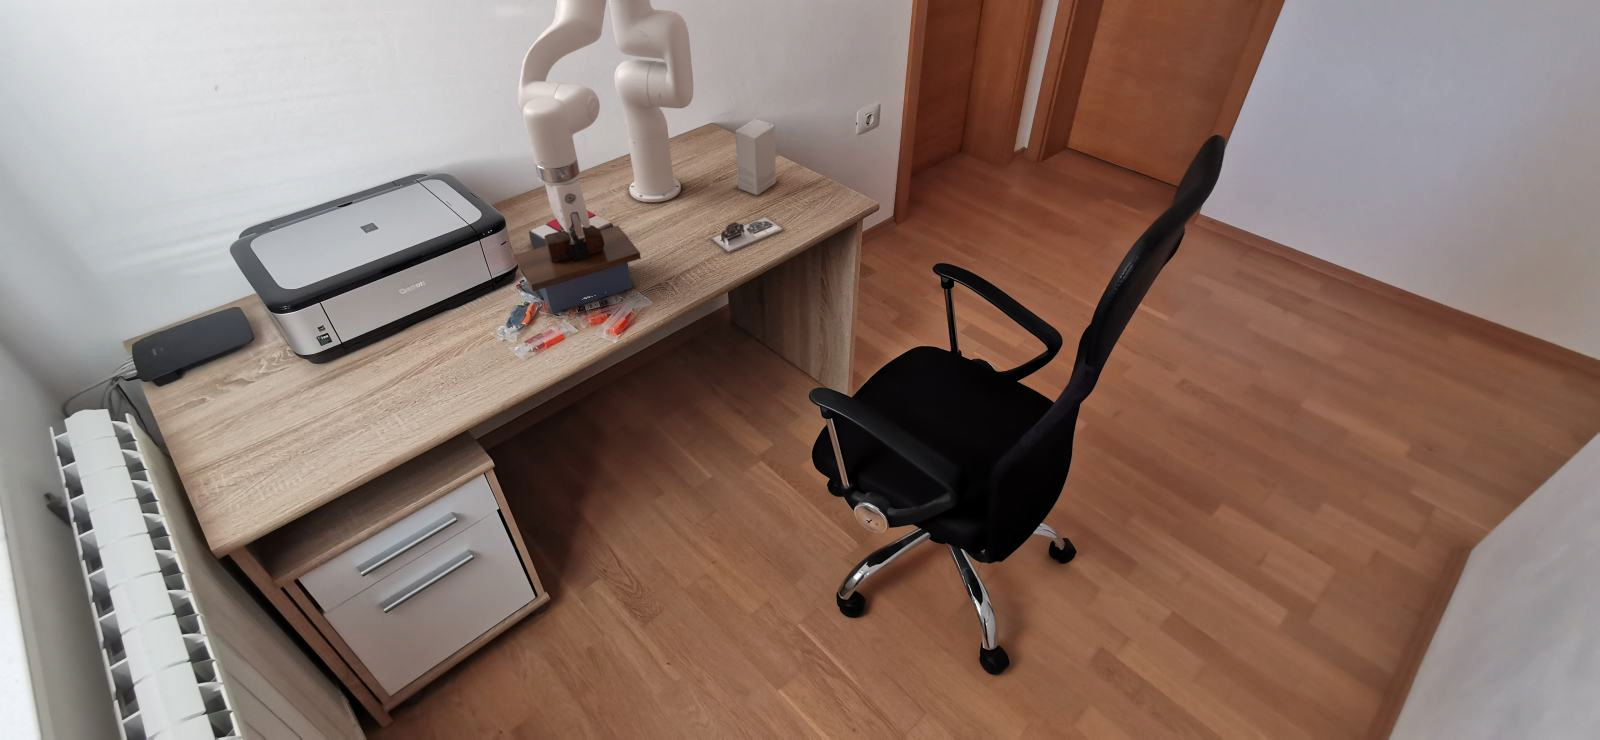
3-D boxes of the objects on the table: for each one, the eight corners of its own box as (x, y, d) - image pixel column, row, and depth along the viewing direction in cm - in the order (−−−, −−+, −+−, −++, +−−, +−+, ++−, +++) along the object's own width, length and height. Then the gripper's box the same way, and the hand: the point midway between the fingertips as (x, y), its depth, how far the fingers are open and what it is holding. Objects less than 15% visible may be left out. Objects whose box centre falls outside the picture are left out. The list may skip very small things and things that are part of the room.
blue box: (537, 288, 155) (529, 260, 150) (615, 264, 161) (609, 237, 157) (552, 313, 149) (544, 284, 144) (632, 288, 155) (627, 259, 150)
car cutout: (729, 252, 165) (728, 234, 162) (712, 239, 169) (711, 222, 166) (782, 230, 172) (782, 213, 169) (765, 218, 176) (764, 201, 173)
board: (515, 261, 150) (513, 254, 149) (619, 231, 158) (618, 225, 157) (533, 291, 142) (531, 285, 141) (641, 258, 151) (639, 252, 150)
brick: (552, 264, 146) (547, 244, 143) (548, 254, 149) (543, 234, 146) (606, 252, 150) (602, 232, 147) (600, 242, 152) (597, 222, 149)
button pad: (613, 221, 168) (557, 246, 159) (615, 238, 171) (561, 263, 161) (582, 205, 173) (527, 228, 164) (585, 221, 176) (530, 245, 167)
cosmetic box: (757, 176, 192) (755, 117, 181) (778, 183, 189) (777, 124, 179) (736, 189, 187) (733, 129, 176) (757, 196, 184) (755, 136, 174)
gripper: (593, 182, 133) (609, 268, 145) (563, 146, 144) (581, 228, 156) (551, 193, 130) (572, 279, 143) (524, 155, 141) (545, 238, 153)
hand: (576, 252), depth 149 cm, fingers closed on brick, 4 cm apart
